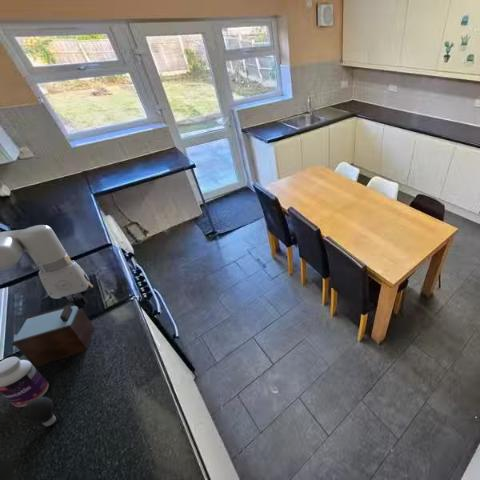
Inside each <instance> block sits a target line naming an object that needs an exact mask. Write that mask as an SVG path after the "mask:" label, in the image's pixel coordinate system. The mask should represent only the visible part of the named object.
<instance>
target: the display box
mask: <svg viewBox="0 0 480 480" xmlns="http://www.w3.org/2000/svg"><path fill="white" fill-rule="evenodd" d="M69 305H70V307H72V306H75V305H74V303H72V304H69ZM64 308H65V306H62V307H59V308H55V309H50V310H48V311H44V312H40V313H36V314H33V315H29V316H27V319H28V318H32V317H36V316H39V315H43V314H47V313H50V312H54V311H57V310H61V309H64ZM83 309H84V308H81V309H78V310H77V313H76V315H75V317H74V320H73V322H72V325H71V326H70V325H69V326H66V327H62V328H59V329H56V330H52V331H49V332H45V333H42V334H39V335H35V336H32V337H29V338H25V339H22V340H19V341H15V342H13V341H12V342H11V345H12V346H15V347H16V348H17V349H18V350H19V351H20V353H22V355H23V356H24V357H25V358H26V360H27V361H29V362H30V363H31V364H32V365H33V366H34V367H35V368H38V367H41V366H43V365H46V364H49V363H53V362H55V361H58V360H59V361H60V360H61V359H64V358H68V357H70V356H74V355H77V354H79V353H82V352H86V351H88V350H89V346H90V344H91V340H92V338H93V337H92V336H93V333H94V331H95V327H94V325H93V323H92V322H91V320H90V318H89V317H88V316H87V314H86V313H85V311H84V310H83Z"/></svg>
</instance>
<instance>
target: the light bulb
mask: <svg viewBox="0 0 480 480" xmlns="http://www.w3.org/2000/svg"><path fill="white" fill-rule="evenodd" d="M53 404H54V403H53V401H52V399H51V398H49V397H48V396H42V397H38V398H35V399H33V400H31V401H30V402H28V403H27V404H26V405H25V406H24V407H23V408H22V411H21V417H22V418H23V420H24V421H26V422H28V423H40V424H42V425H43V426H45V427H49V426H52V425H53V424H54V423H55V422H56V420H57V417H56V416H55V415H54V412H53V407H54V406H53Z"/></svg>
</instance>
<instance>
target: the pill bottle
mask: <svg viewBox="0 0 480 480" xmlns="http://www.w3.org/2000/svg"><path fill="white" fill-rule="evenodd" d="M49 386H50V384H49V382H48V380H47V379H46V378H45V377H44V375H42V373H40V372H39V370H38V368H37V367H34V366H33V364H32V363H31V362H30V361H29V360H28V359H20V358H19V357H17V356H10V357H7V358H4V359H2V360H0V394H1V395H2V396H3V397H5V398H6V400H8V402H10V404H11V405H13V406H14V407H16V408H22V407H23V408H24V407H25V405H26V404H27V403H28V402H30V401H31V400H33V399H35V398H38V397H44V395H45V394H46V393H47V391H48V389H49Z"/></svg>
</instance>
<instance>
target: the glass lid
mask: <svg viewBox="0 0 480 480" xmlns="http://www.w3.org/2000/svg"><path fill="white" fill-rule="evenodd" d="M70 305H71V304H68V305H65V306H64V307H65V308H64V309H61V310H57V311H54V312H50V313H47V314H43V315H39V316H36V317H32V318H28V317H27V319H26V320H25V322H24V323H23V325H22V327H21V328H20V330H19V331H18V333H17V335H16V336H15V337H14V339H13V341H12V342H15V341H19V340H22V339H25V338H29V337H32V336H35V335H39V334H42V333H45V332H49V331H52V330H56V329H59V328H62V327H66V326H69V325H70V326H71V325H72V322H73V320H74V317H75V315H76V313H77V310H78V307H77V306H72V307H70Z"/></svg>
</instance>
